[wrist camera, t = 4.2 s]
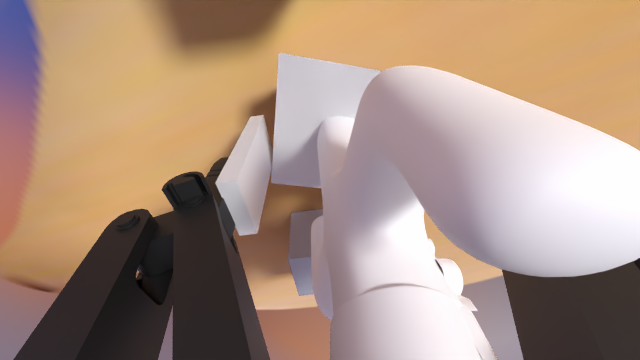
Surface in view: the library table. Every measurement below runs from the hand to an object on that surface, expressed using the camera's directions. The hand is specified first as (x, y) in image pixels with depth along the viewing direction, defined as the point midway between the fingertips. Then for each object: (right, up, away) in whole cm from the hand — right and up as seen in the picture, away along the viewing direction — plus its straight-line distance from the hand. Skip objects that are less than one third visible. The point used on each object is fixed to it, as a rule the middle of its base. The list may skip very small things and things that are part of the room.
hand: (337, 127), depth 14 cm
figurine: (0, +1, +2) cm, 3 cm away
